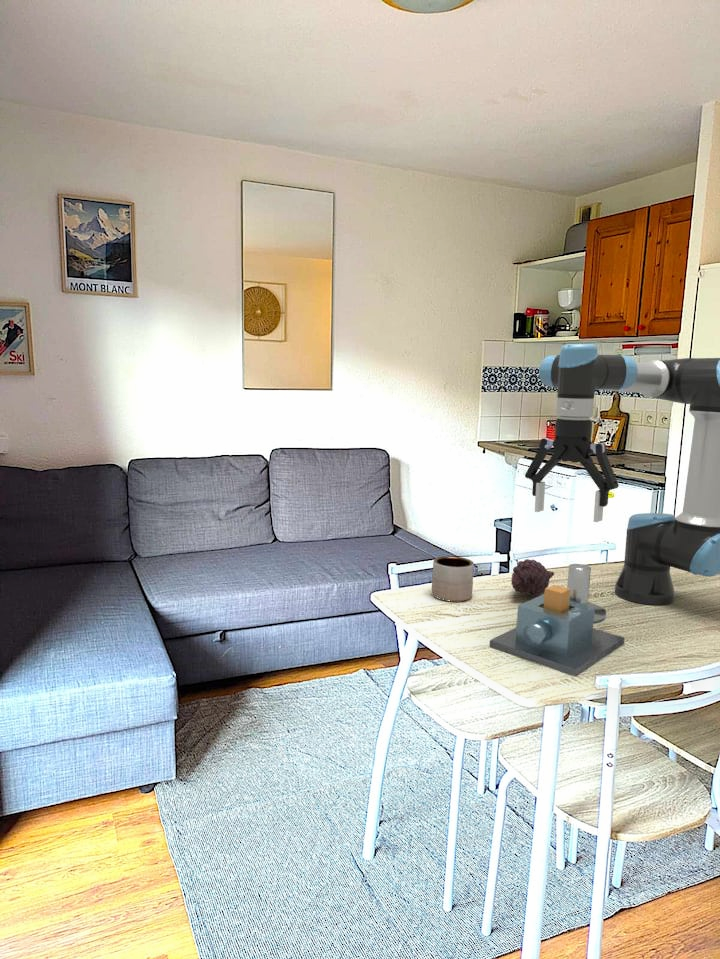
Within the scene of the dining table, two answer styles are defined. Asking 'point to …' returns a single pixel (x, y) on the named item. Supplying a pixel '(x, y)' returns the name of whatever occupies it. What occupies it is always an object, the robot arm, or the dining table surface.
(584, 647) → the grey square hole fixture
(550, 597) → the orange rectangular block
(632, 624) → the dining table surface
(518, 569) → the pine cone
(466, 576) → the planter
